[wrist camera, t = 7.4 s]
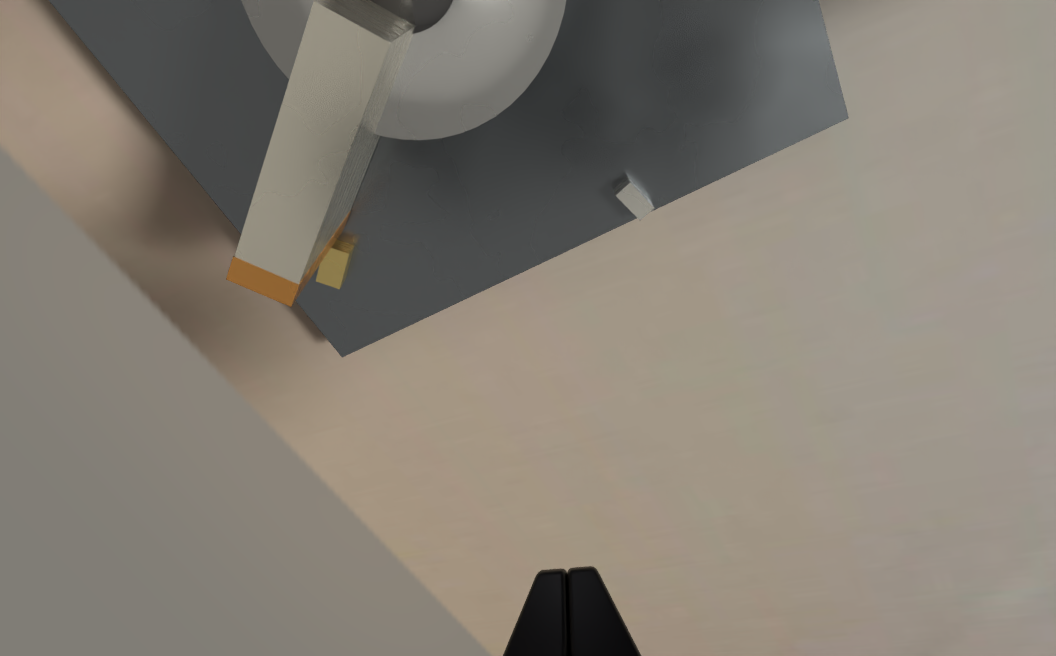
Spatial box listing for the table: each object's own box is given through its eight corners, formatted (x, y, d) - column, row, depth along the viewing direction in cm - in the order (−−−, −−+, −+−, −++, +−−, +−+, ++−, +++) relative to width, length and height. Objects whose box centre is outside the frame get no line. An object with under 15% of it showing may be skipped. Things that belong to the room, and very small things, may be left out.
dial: (311, -322, 12) (205, -450, 8) (626, -111, 13) (661, -133, 10) (192, 159, 17) (90, 222, 13) (434, 271, 18) (407, 356, 14)
